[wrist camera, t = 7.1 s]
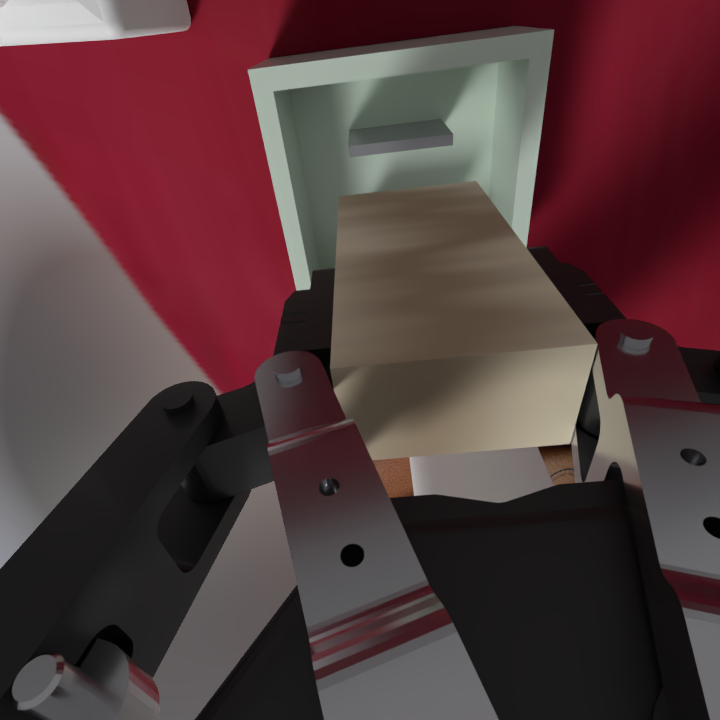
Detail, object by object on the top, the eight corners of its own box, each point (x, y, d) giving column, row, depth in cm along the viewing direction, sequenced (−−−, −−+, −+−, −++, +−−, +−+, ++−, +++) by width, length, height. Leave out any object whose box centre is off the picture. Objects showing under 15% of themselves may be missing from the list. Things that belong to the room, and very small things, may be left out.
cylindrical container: (451, 332, 27) (718, 1208, 7) (532, 383, 30) (889, 1130, 10) (380, 403, 31) (428, 1120, 11) (457, 443, 33) (610, 1080, 13)
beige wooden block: (476, 180, 15) (597, 343, 7) (472, 252, 16) (569, 443, 9) (338, 196, 15) (329, 368, 8) (347, 265, 16) (347, 462, 9)
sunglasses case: (603, 443, 33) (616, 540, 31) (552, 457, 40) (559, 538, 37) (363, 416, 31) (356, 517, 29) (351, 436, 38) (344, 520, 35)
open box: (514, 25, 18) (554, 29, 14) (494, 257, 24) (519, 300, 20) (268, 58, 18) (247, 69, 15) (310, 276, 25) (303, 321, 21)
